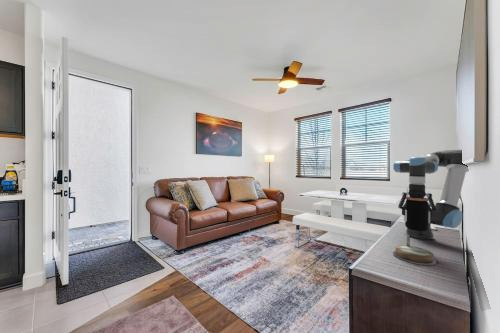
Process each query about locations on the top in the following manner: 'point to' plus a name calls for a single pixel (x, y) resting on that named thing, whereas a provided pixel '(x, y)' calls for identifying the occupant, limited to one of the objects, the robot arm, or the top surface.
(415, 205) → the coffee jar
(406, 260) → the wheel base
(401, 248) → the index wheel
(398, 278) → the top surface
